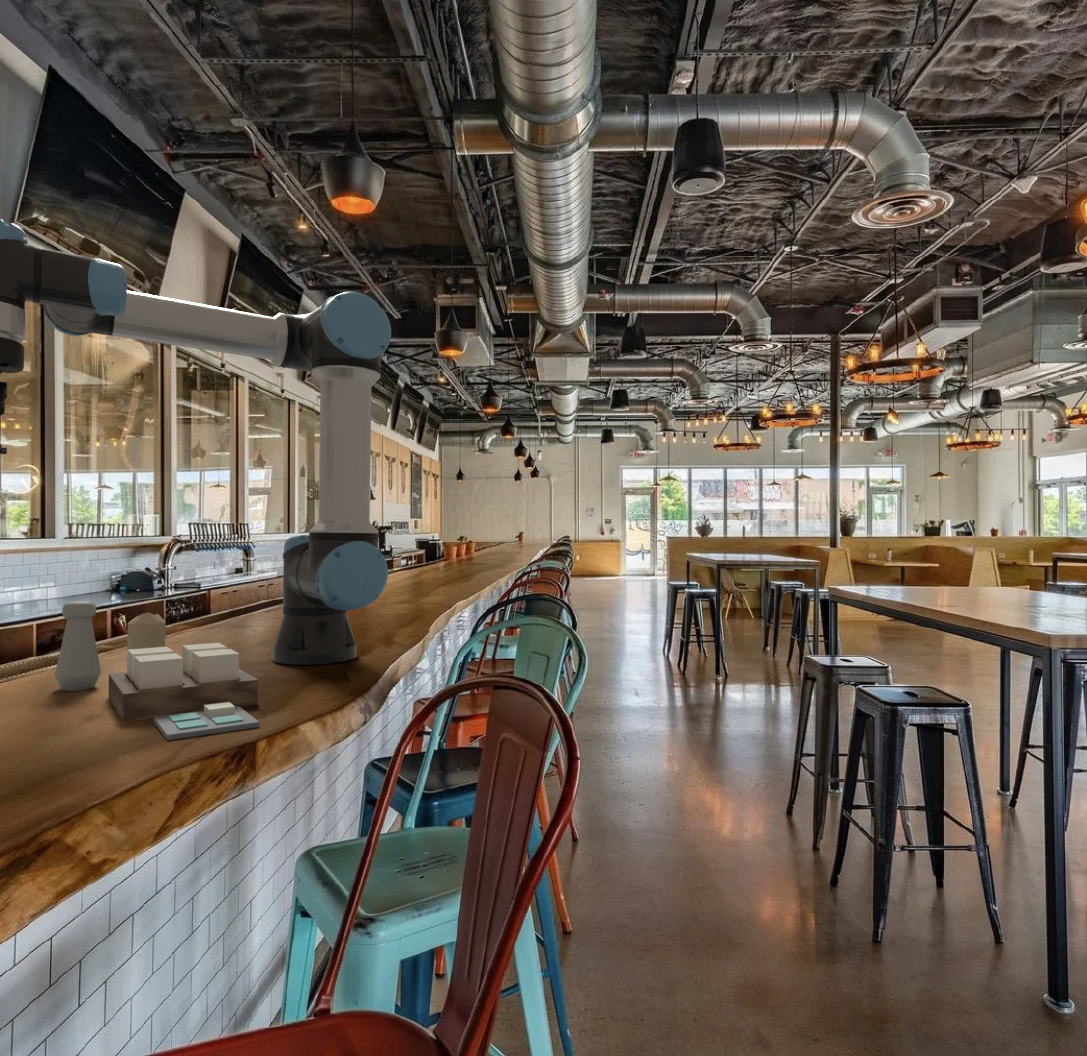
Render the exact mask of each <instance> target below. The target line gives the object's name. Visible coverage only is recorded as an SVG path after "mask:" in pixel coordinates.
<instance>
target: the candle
mask: <svg viewBox="0 0 1087 1056" xmlns="http://www.w3.org/2000/svg"><path fill="white" fill-rule="evenodd" d="M166 623H167V622H166V621H165V620H164V619H163V618H162V616H161V615H160V614H159V613H156V614H153V613H151V612H145V613H141V614H140V615H137V616H136V617H134V618H133V619H131V620H130V621H128V623H127V642H126V643H127V646H126V647H127V650H129V649H142V648H156V647H166V626H167V625H166Z"/></svg>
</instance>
